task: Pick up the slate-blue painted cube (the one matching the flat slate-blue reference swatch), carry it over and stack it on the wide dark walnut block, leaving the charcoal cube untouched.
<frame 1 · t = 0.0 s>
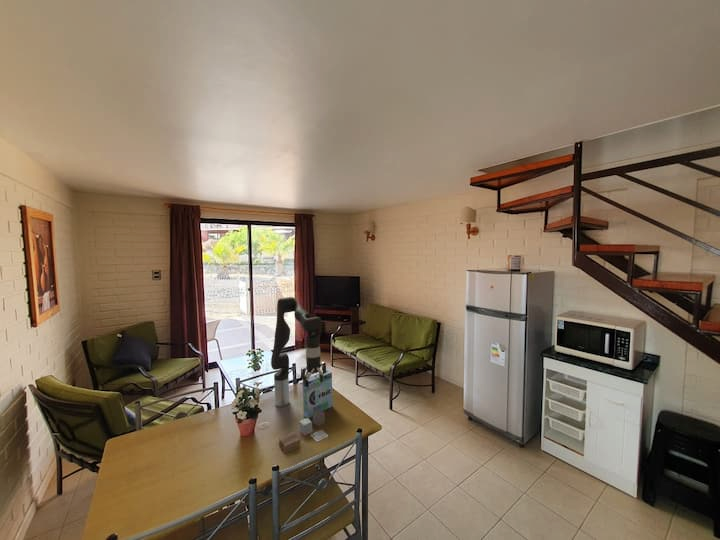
hand: (314, 384, 154), 29 cm above the table, fingers open, 8 cm apart
walnut block: (289, 446, 149), on the table
gum box: (318, 411, 181), on the table
slate cube: (306, 431, 160), on the table
reference swatch: (319, 435, 156), on the table
charcoal cube: (318, 422, 168), on the table
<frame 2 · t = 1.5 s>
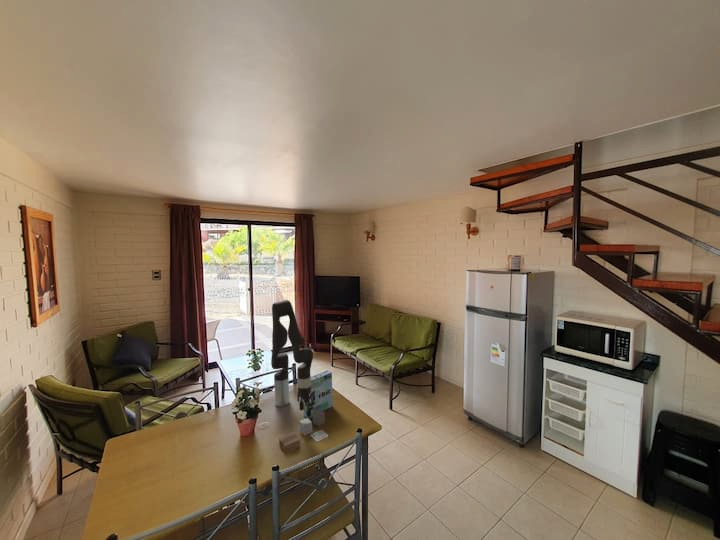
hand: (305, 413, 159), 11 cm above the table, fingers open, 8 cm apart
nothing on the table moved.
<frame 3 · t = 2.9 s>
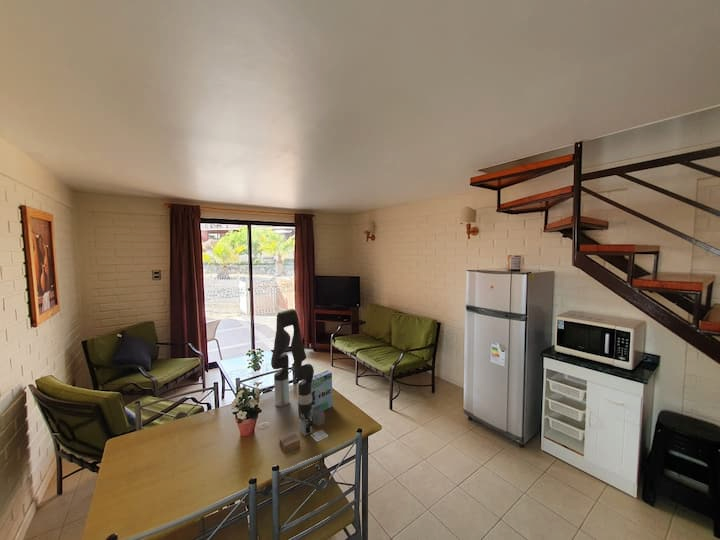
hand: (305, 430, 160), 1 cm above the table, fingers closed on slate cube, 5 cm apart
slate cube: (305, 431, 160), on the table, touching gripper
everything else where it was.
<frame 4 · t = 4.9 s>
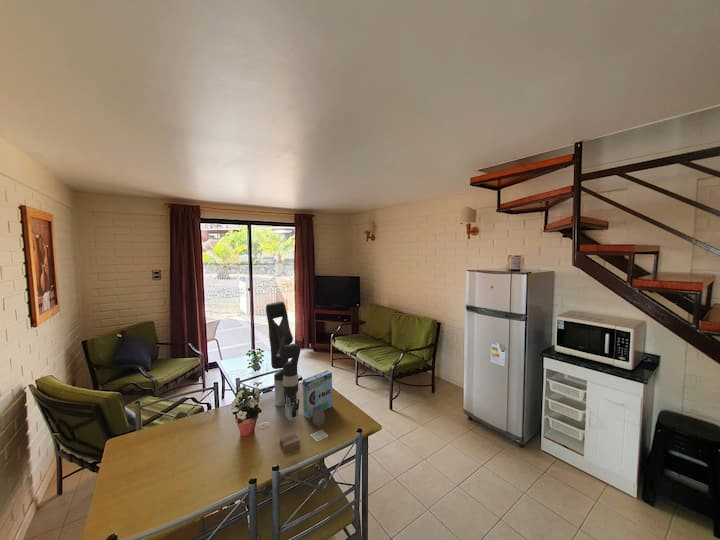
hand: (291, 414, 149), 16 cm above the table, fingers closed on slate cube, 5 cm apart
slate cube: (291, 416, 149), point 15 cm above the table, touching gripper
everything else where it was.
when the fingers open (6 cm above the table, at t = 7.2 s): slate cube drops 1 cm, point 4 cm above the table.
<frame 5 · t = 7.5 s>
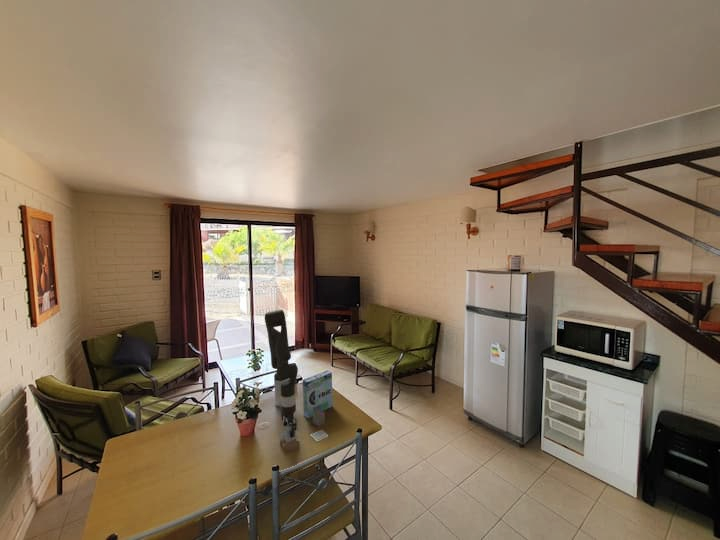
hand: (289, 433, 148), 7 cm above the table, fingers open, 7 cm apart
slate cube: (289, 438, 149), point 4 cm above the table
everything else where it was.
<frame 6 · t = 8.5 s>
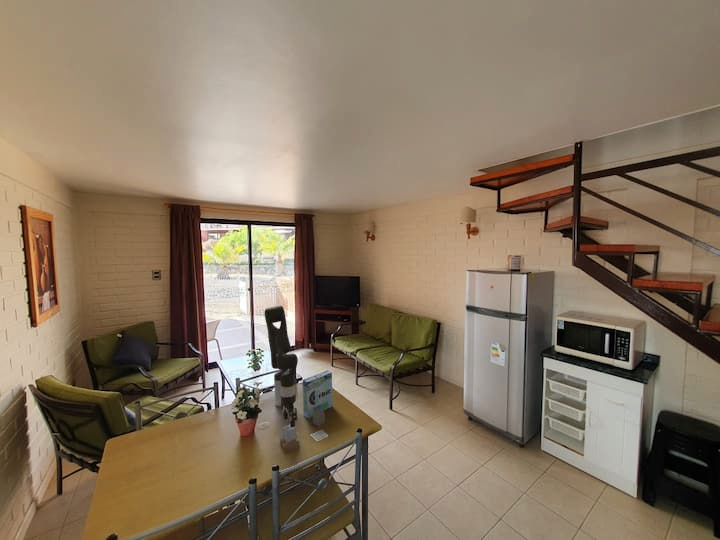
hand: (289, 422, 148), 12 cm above the table, fingers open, 8 cm apart
nothing on the table moved.
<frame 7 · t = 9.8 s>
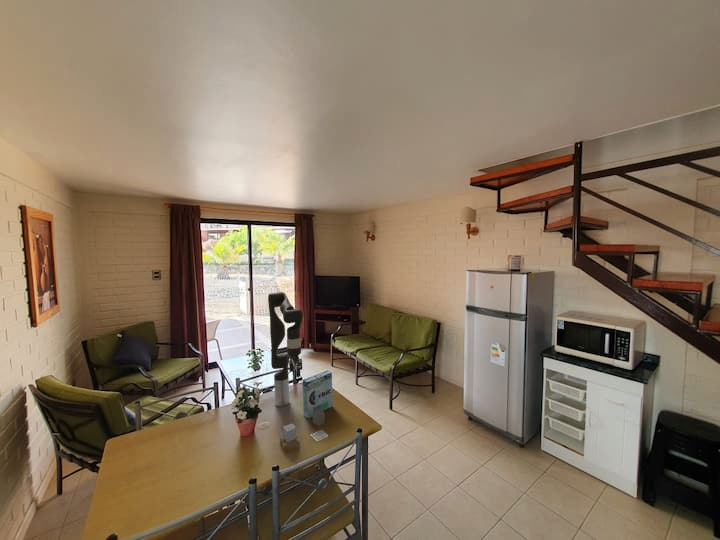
hand: (294, 373, 159), 33 cm above the table, fingers open, 8 cm apart
walnut block: (289, 446, 149), on the table, touching slate cube
slate cube: (289, 438, 149), point 4 cm above the table, touching walnut block
everything else where it was.
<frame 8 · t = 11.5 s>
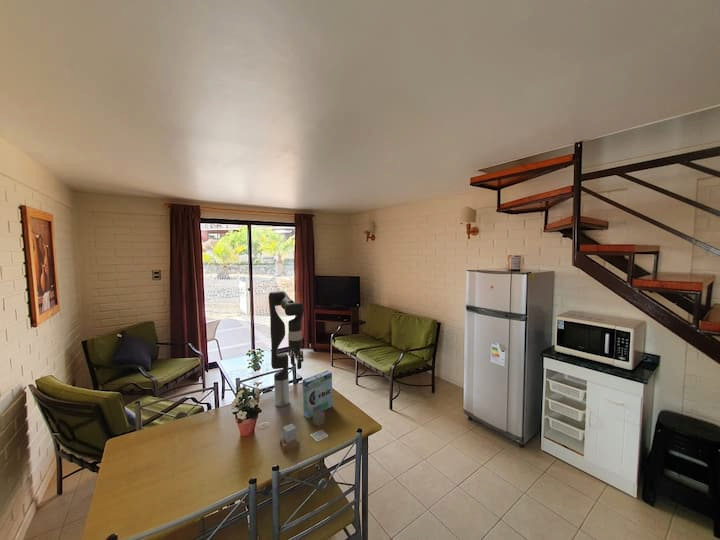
hand: (296, 366, 161), 36 cm above the table, fingers open, 8 cm apart
walnut block: (289, 446, 148), on the table
slate cube: (289, 438, 149), point 4 cm above the table
everything else where it was.
at the end: slate cube inside the target area on the walnut block (0.4 cm from its centre), point 4.0 cm above the walnut block's base; slate cube tilted 0°; the gripper is holding nothing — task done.
